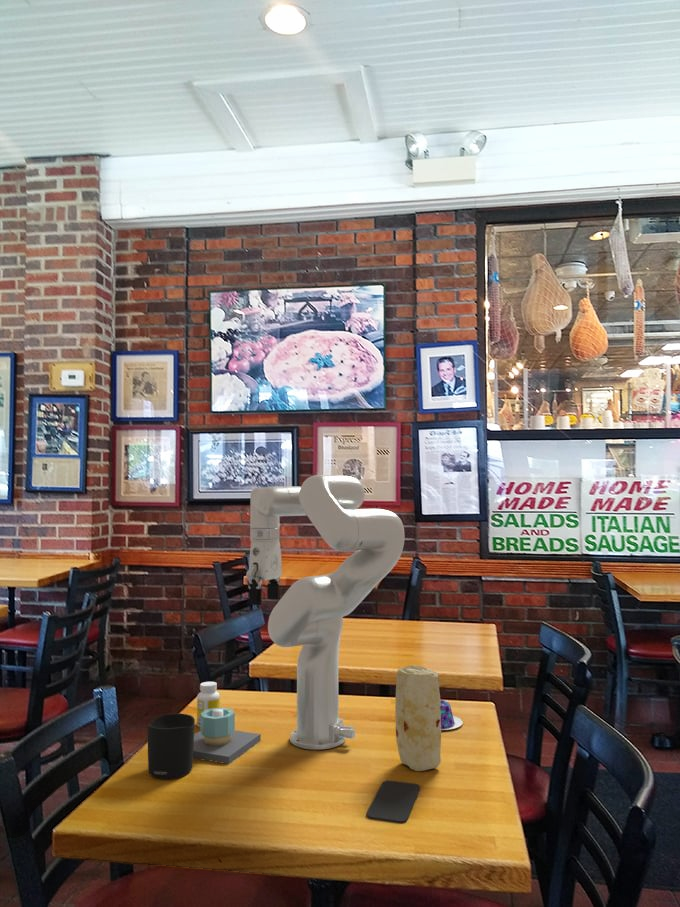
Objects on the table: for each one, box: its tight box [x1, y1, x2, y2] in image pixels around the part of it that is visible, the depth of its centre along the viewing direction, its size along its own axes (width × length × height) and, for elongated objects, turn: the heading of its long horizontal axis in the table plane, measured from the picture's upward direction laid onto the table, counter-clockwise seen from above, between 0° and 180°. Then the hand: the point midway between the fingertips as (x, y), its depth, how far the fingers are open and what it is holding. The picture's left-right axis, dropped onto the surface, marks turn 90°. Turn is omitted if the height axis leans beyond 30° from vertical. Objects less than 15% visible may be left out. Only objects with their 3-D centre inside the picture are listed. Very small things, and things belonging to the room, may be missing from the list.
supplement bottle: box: [196, 681, 221, 728], centre depth 163 cm, size 5×5×10 cm
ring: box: [199, 707, 236, 738], centre depth 149 cm, size 7×7×4 cm
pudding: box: [440, 699, 463, 731], centre depth 164 cm, size 12×12×5 cm
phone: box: [365, 779, 421, 824], centre depth 122 cm, size 7×1×15 cm
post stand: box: [193, 709, 262, 765], centre depth 149 cm, size 14×14×8 cm
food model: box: [394, 665, 442, 772], centre depth 139 cm, size 10×7×20 cm
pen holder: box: [146, 712, 196, 780], centre depth 136 cm, size 9×9×10 cm
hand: (264, 601), depth 173 cm, fingers open, 9 cm apart
